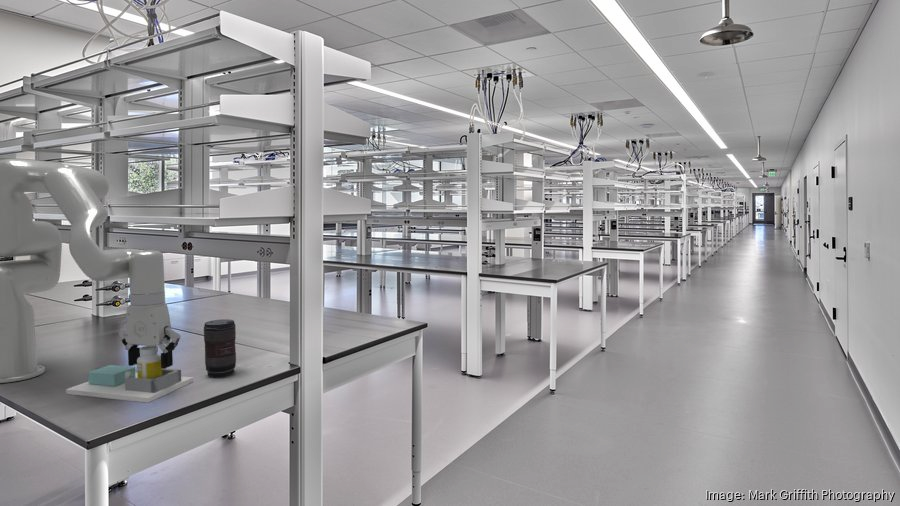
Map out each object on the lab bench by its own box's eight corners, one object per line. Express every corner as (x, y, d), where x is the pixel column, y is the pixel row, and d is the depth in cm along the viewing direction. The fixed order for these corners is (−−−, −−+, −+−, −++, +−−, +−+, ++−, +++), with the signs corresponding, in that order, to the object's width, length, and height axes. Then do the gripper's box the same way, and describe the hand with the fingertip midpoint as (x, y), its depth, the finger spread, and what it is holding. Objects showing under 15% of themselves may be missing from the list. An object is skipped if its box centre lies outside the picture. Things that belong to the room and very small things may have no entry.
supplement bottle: (166, 381, 131) (165, 344, 130) (155, 388, 126) (153, 350, 125) (145, 381, 131) (144, 344, 130) (133, 388, 126) (131, 350, 125)
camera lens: (240, 368, 146) (238, 318, 144) (232, 378, 138) (230, 324, 136) (210, 370, 144) (208, 318, 143) (201, 379, 136) (199, 325, 135)
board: (66, 393, 125) (65, 371, 124) (118, 374, 140) (117, 354, 139) (148, 402, 120) (147, 379, 119) (192, 381, 134) (192, 361, 134)
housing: (88, 383, 129) (88, 372, 128) (110, 375, 135) (109, 364, 135) (114, 386, 127) (114, 374, 127) (135, 378, 133) (135, 367, 133)
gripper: (106, 300, 125) (109, 367, 126) (165, 303, 121) (168, 372, 122) (131, 295, 132) (134, 359, 133) (188, 298, 128) (190, 363, 130)
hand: (150, 365), depth 128 cm, fingers open, 9 cm apart
